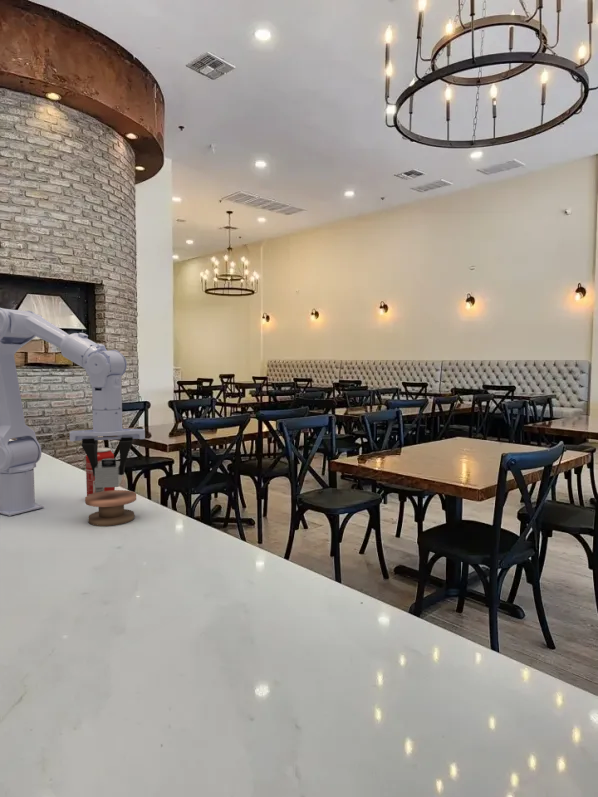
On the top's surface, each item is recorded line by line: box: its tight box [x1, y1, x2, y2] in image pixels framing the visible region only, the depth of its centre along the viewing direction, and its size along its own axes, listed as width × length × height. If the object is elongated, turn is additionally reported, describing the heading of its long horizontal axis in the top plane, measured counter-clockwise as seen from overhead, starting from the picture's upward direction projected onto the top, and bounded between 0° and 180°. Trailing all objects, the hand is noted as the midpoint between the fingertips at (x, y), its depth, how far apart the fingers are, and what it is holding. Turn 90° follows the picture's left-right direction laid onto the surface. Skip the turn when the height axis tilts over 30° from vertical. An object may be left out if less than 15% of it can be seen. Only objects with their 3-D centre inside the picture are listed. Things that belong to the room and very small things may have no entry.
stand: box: [84, 489, 137, 527], centre depth 113 cm, size 10×10×5 cm
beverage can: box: [85, 447, 116, 496], centre depth 129 cm, size 6×6×12 cm
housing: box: [95, 458, 123, 488], centre depth 112 cm, size 4×7×5 cm, turn 12°
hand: (109, 474), depth 112 cm, fingers closed on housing, 4 cm apart
